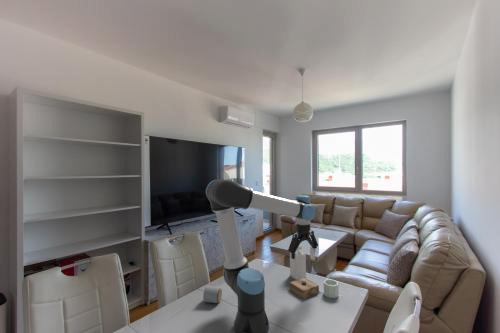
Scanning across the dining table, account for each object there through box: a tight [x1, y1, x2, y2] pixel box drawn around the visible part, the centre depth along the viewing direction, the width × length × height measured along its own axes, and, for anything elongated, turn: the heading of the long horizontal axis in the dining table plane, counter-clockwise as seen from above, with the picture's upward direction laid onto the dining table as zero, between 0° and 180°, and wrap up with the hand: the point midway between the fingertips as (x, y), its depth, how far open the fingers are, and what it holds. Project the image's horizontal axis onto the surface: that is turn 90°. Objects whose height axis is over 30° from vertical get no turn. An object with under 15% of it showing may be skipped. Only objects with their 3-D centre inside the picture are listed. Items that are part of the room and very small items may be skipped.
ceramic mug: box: [202, 285, 223, 304], centre depth 127 cm, size 11×8×8 cm
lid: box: [289, 277, 320, 298], centre depth 133 cm, size 11×11×5 cm
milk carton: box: [289, 246, 307, 280], centre depth 151 cm, size 7×7×19 cm
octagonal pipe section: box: [323, 278, 340, 299], centre depth 130 cm, size 7×7×7 cm
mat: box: [286, 287, 322, 301], centre depth 133 cm, size 14×13×1 cm
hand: (303, 261), depth 134 cm, fingers open, 13 cm apart
